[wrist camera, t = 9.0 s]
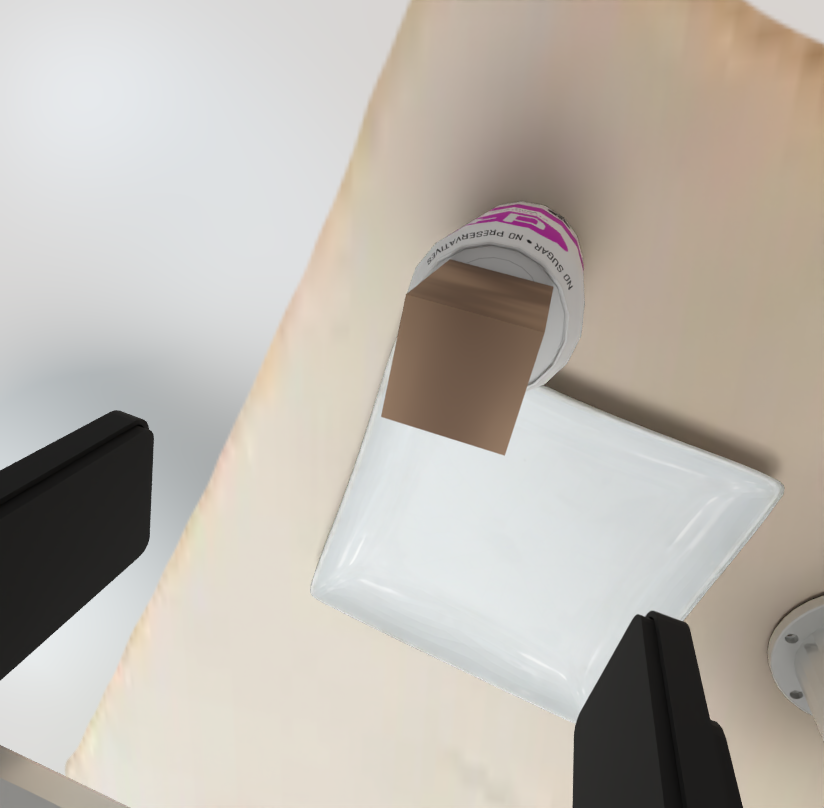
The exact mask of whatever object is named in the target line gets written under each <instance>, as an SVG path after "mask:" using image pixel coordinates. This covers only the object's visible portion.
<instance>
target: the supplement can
mask: <svg viewBox="0 0 824 808" xmlns="http://www.w3.org/2000/svg"><path fill="white" fill-rule="evenodd" d="M449 259H451V260H455V261H459V262H463V263H466V264H470V265H474V266H478V267H481V268H485V269H489V270H493V271H496V272H500V273H504V274H508V275H511V276H515V277H519V278H523V279H527V280H530V281H534V282H538V283H542V284H545V285H549V286H553V292H552V297H551V303H550V308H549V313H548V318H547V323H546V328H545V333H544V336H543V339H542V343H541V346H540V349H539V352H538V355H537V358H536V361H535V364H534V367H533V370H532V373H531V376H530V380H529V383H528V386H527V389H526V392H527V391H530V390H532V389H534V388H537V387H539V386H541V385H544V384H545V383H546V382H548V381H549V380H550V379H551V378H552V377H553V376H554V375H555V374H556V373H557V372H558V371H559V370H561V369H562V368H563V367H564V366H565V365H566V364H567V363H568V361H569V359H570V357H571V355H572V353H573V351H574V349H575V347H576V345H577V343H578V341H579V339H580V337H581V333H582V324H583V314H584V305H585V301H584V269H583V256H582V252H581V248H580V244H579V241H578V237H577V235H576V234H575V232H574V231H573V230H572V228H571V227H570V225H569V224H568V223H567V221H566V220H565V219H564V217H562V216H560V215H559V214H557V213H556V212H554V211H552V210H551V209H549V208H548V207H546V206H545V205H540V204H535V203H529V202H524V201H519V202H513V203H508V204H502V205H498V206H497V207H495V208H493V209H491V210H490V211H488V212H486V213H485V214H483V215H481V216H479V217H478V218H476V219H474V220H473V221H471V222H470V223H468V224H466V225H465V226H463V227H461V228H460V229H458V230H457V231H455V232H453V233H452V234H450V235H448V236H447V237H445V238H443V239H442V240H440V241H439V242H437V243H435V245H434V246H433V247H432V248H431V250H430V251H429V252H428V253H427V254H426V256H425V257H424V258H423V259H422V261H421V262H420V263H419V264H418V265H417V267H416V269H415V272H414V274H413V277H412V280H411V283H410V286H409V289H408V292H409V291H411V290H412V289H413V288H414V287H416V286H417V285H418V284H419V283H421V282H422V281H423V280H424V279H426V278H427V277H428V276H429V275H431V274H432V273H433V272H434V271H436V270H437V269H438V268H439V267H441V266H442V265H443V264H444V263H446V262H447V261H448V260H449ZM408 292H407V293H408Z"/></svg>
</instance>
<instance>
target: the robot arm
mask: <svg viewBox="0 0 824 808" xmlns="http://www.w3.org/2000/svg"><path fill="white" fill-rule="evenodd" d="M153 444H154V436H153V433H152V431H150V430H149V428H148V424H147V422H146V421H145V420H143V419H140V418H138V417H135V416H132V415H130V414H127V413H124V412H122V411H117V410H116V411H112V412H109V413H108V414H106V415H104V416H102V417H100V418H98V419H96V420H94V421H93V422H91V423H89V424H87V425H85V426H83V427H81V428H80V429H78V430H76V431H74V432H72V433H70V434H68V435H66V436H64V437H63V438H61V439H59V440H57V441H55V442H53V443H51V444H49V445H47V446H46V447H44V448H42V449H40V450H38V451H36V452H34V453H32V454H30V455H29V456H27V457H25V458H23V459H21V460H19V461H18V462H15V463H14V464H12V465H10V466H8V467H6V468H4V469H2V470H0V680H1V679H3V678H4V677H5V676H6V675H7V674H8V673H9V672H10V671H11V670H12V669H14V668H15V667H16V666H17V665H18V664H19V663H21V662H22V661H23V660H24V659H25V658H26V657H27V656H28V655H29V654H31V653H32V652H33V651H34V650H35V649H36V648H37V647H38V646H40V645H41V644H42V643H43V642H44V641H45V640H46V639H47V638H49V637H50V636H51V635H52V634H53V633H54V632H55V631H56V630H58V629H59V628H60V627H61V626H62V625H63V624H64V623H65V622H67V621H68V620H69V619H70V618H71V617H72V616H73V615H74V614H75V613H76V612H78V611H79V610H80V609H81V608H82V607H83V606H84V605H86V604H87V603H88V602H89V601H90V600H91V599H92V598H93V597H95V596H96V595H97V594H98V593H99V592H100V591H101V590H102V589H104V588H105V587H106V586H107V585H108V584H109V583H110V582H111V581H113V580H114V579H115V578H116V577H117V576H118V575H119V574H120V573H121V572H123V571H124V570H125V569H126V568H127V567H128V566H129V565H130V564H132V563H133V562H134V561H135V560H136V559H137V558H138V557H139V556H140V555H141V554H142V553H143V552H144V550H145V549H146V546H147V545H148V542H149V537H150V514H151V512H150V511H151V490H152V467H153ZM767 654H768V664H769V667H770V670H771V673H772V676H773V679H774V680H775V682H776V684H777V686H778V688H779V690H780V691H781V692H782V693H783V695H784V696H785V697H786V698H787V699H788V700H789V701H790V702H792V703H793V704H794V705H795V706H797V707H798V708H799V709H801V710H802V711H804V712H806V713H808V714H810V715H812V716H813V717H814V720H815V722H816V725H817V727H818V729H819V732H820V734H821V737H822V739H823V741H824V595H823V596H821V597H818V598H815V599H812V600H810V601H808V602H806V603H805V604H803V605H801V606H799V607H797V608H796V609H794V610H793V611H792V612H791V613H789V614H788V615H787V616H786V617H784V619H783V620H782V621H781V622H780V623H779V625H778V626H777V627H776V628H775V630H774V632H773V634H772V636H771V638H770V640H769V646H768V651H767ZM0 808H130V807H128V806H126V805H124V804H121V803H119V802H117V801H115V800H113V799H111V798H109V797H107V796H105V795H103V794H101V793H99V792H97V791H95V790H93V789H91V788H89V787H86V786H84V785H82V784H80V783H78V782H76V781H74V780H72V779H70V778H68V777H66V776H64V775H62V774H60V773H57V772H55V771H53V770H51V769H49V768H47V767H45V766H43V765H41V764H39V763H37V762H34V761H32V760H30V759H28V758H26V757H24V756H22V755H20V754H18V753H16V752H14V751H12V750H9V749H7V748H5V747H3V746H1V745H0ZM573 808H743V806H742V802H741V798H740V794H739V790H738V785H737V781H736V777H735V773H734V769H733V765H732V761H731V757H730V753H729V749H728V745H727V740H726V737H725V735H724V732H723V729H722V728H721V726H720V725H719V724H718V723H717V722H715V721H712V720H710V717H709V712H708V708H707V704H706V699H705V695H704V690H703V686H702V681H701V677H700V672H699V668H698V663H697V659H696V655H695V650H694V646H693V641H692V637H691V632H690V629H689V626H688V624H687V623H685V622H683V621H680V620H678V619H675V618H672V617H670V616H667V615H664V614H662V613H659V612H656V611H650V612H648V613H647V615H646V616H642V615H639V614H637V615H635V616H634V618H633V619H632V621H631V623H630V624H629V626H628V628H627V630H626V631H625V633H624V635H623V637H622V639H621V640H620V642H619V644H618V646H617V647H616V649H615V651H614V653H613V655H612V656H611V658H610V660H609V662H608V663H607V665H606V667H605V669H604V670H603V672H602V674H601V676H600V678H599V679H598V681H597V683H596V685H595V686H594V688H593V690H592V692H591V694H590V695H589V697H588V699H587V701H586V702H585V704H584V706H583V708H582V710H581V711H580V713H579V715H578V718H577V721H576V725H575V731H574V764H573Z"/></svg>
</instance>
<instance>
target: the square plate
mask: <svg viewBox="0 0 824 808" xmlns="http://www.w3.org/2000/svg"><path fill="white" fill-rule="evenodd" d="M396 341H397V338H396ZM396 341H395V343H394V346H393V348H392V351H391V354H390V356H389V360H388V362H387V365H386V368H385V372H384V375H383V378H382V382H381V385H380V388H379V391H378V394H377V398H376V401H375V404H374V407H373V410H372V414H371V417H370V420H369V423H368V426H367V429H366V432H365V435H364V439H363V441H362V445H361V448H360V451H359V454H358V457H357V460H356V463H355V466H354V469H353V472H352V474H351V477H350V480H349V483H348V485H347V488H346V491H345V494H344V497H343V499H342V502H341V505H340V507H339V510H338V513H337V515H336V518H335V520H334V523H333V526H332V528H331V531H330V534H329V536H328V538H327V541H326V544H325V546H324V549H323V552H322V554H321V557H320V560H319V562H318V565H317V567H316V570H315V573H314V576H313V579H312V583H311V589H310V592H311V594H312V596H313V597H314V598H316V599H317V600H319V601H321V602H322V603H324V604H326V605H328V606H330V607H332V608H334V609H336V610H338V611H340V612H342V613H344V614H346V615H348V616H350V617H352V618H354V619H356V620H358V621H360V622H362V623H364V624H366V625H368V626H370V627H372V628H374V629H376V630H379V631H381V632H383V633H385V634H387V635H389V636H391V637H393V638H395V639H397V640H399V641H401V642H403V643H405V644H407V645H409V646H411V647H413V648H416V649H418V650H420V651H422V652H424V653H426V654H428V655H430V656H432V657H434V658H436V659H438V660H441V661H443V662H445V663H447V664H449V665H451V666H453V667H455V668H457V669H459V670H461V671H463V672H466V673H468V674H470V675H472V676H474V677H476V678H478V679H480V680H482V681H485V682H487V683H489V684H491V685H493V686H495V687H497V688H499V689H501V690H503V691H505V692H507V693H509V694H512V695H514V696H516V697H518V698H521V699H523V700H525V701H527V702H529V703H531V704H533V705H535V706H537V707H539V708H541V709H544V710H546V711H548V712H550V713H552V714H554V715H557V716H559V717H561V718H563V719H565V720H568V721H570V722H572V723H575V724H576V721H577V718H578V715H579V713H580V711H581V710H582V708H583V706H584V704H585V702H586V701H587V699H588V697H589V695H590V694H591V692H592V690H593V688H594V686H595V685H596V683H597V681H598V679H599V678H600V676H601V674H602V672H603V670H604V669H605V667H606V665H607V663H608V662H609V660H610V658H611V656H612V655H613V653H614V651H615V649H616V647H617V646H618V644H619V642H620V640H621V639H622V637H623V635H624V633H625V631H626V630H627V628H628V626H629V624H630V623H631V621H632V619H633V618H634V616H635V615H637V614H639V615H642V616H646V615H647V613H648V612H650V611H656V612H659V613H662V614H664V615H667V616H670V617H672V618H675V619H678V620H680V621H684V619H685V618H686V617H687V615H688V614H689V613H690V612H691V610H692V609H693V608H694V607H695V606H696V604H697V603H698V602H699V601H700V599H701V598H702V597H703V596H704V594H705V593H706V592H707V591H708V589H709V588H710V587H711V586H712V584H713V583H714V582H715V581H716V579H717V578H718V577H719V576H720V575H721V574H722V572H723V571H724V570H725V569H726V568H727V566H728V565H729V564H730V563H731V562H732V560H733V559H734V558H735V557H736V555H737V554H738V553H739V552H740V550H741V549H742V548H743V547H744V545H745V544H746V543H747V542H748V541H749V539H750V538H751V537H752V536H753V534H754V533H755V532H756V530H757V529H758V528H759V527H760V525H761V524H762V523H763V521H764V520H765V519H766V518H767V516H768V515H769V514H770V512H771V511H772V509H773V508H774V507H775V505H776V504H777V502H778V501H779V500H780V498H781V497H782V495H783V494H784V485H783V484H782V483H781V482H780V481H778V480H776V479H774V478H772V477H770V476H768V475H766V474H764V473H762V472H759V471H757V470H755V469H752V468H750V467H748V466H745V465H743V464H740V463H737V462H735V461H732V460H730V459H727V458H725V457H722V456H719V455H716V454H714V453H711V452H708V451H706V450H703V449H700V448H698V447H695V446H692V445H690V444H687V443H684V442H682V441H679V440H676V439H674V438H671V437H668V436H666V435H663V434H660V433H658V432H655V431H653V430H650V429H648V428H645V427H642V426H640V425H637V424H635V423H632V422H630V421H627V420H624V419H622V418H619V417H617V416H615V415H612V414H610V413H607V412H605V411H602V410H600V409H597V408H595V407H593V406H590V405H588V404H585V403H583V402H581V401H579V400H576V399H574V398H572V397H569V396H567V395H565V394H562V393H560V392H558V391H556V390H554V389H551V388H549V387H547V386H545V385H541V386H539V387H537V388H534V389H532V390H530V391H527V392H525V395H524V398H523V401H522V404H521V407H520V410H519V413H518V417H517V420H516V423H515V426H514V429H513V432H512V435H511V438H510V441H509V444H508V447H507V450H506V454H505V456H504V455H501V454H498V453H494V452H491V451H488V450H485V449H482V448H478V447H475V446H472V445H469V444H466V443H463V442H459V441H456V440H453V439H450V438H447V437H443V436H440V435H437V434H434V433H431V432H428V431H424V430H421V429H418V428H415V427H412V426H408V425H405V424H402V423H399V422H396V421H392V420H389V419H386V418H383V417H381V414H382V409H383V404H384V400H385V395H386V390H387V385H388V380H389V375H390V370H391V365H392V361H393V356H394V351H395V346H396Z"/></svg>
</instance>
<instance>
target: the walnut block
mask: <svg viewBox="0 0 824 808" xmlns="http://www.w3.org/2000/svg"><path fill="white" fill-rule="evenodd" d="M552 292H553V286H549V285H545V284H542V283H538V282H534V281H530V280H527V279H523V278H519V277H515V276H511V275H508V274H504V273H500V272H496V271H493V270H489V269H485V268H481V267H478V266H474V265H470V264H466V263H463V262H459V261H455V260H451V259H449V260H448V261H447V262H446V263H444V264H443V265H442V266H441V267H439V268H438V269H437V270H436V271H434V272H433V273H432V274H431V275H429V276H428V277H427V278H426V279H424V280H423V281H422V282H421V283H419V284H418V285H417V286H416V287H414V288H413V289H412V290H411V291H409V292H408V293H407V294H406V297H405V302H404V307H403V312H402V317H401V322H400V327H399V331H398V336H397V341H396V346H395V351H394V356H393V361H392V365H391V370H390V375H389V380H388V385H387V390H386V395H385V400H384V404H383V409H382V414H381V417H383V418H386V419H389V420H392V421H396V422H399V423H402V424H405V425H408V426H412V427H415V428H418V429H421V430H424V431H428V432H431V433H434V434H437V435H440V436H443V437H447V438H450V439H453V440H456V441H459V442H463V443H466V444H469V445H472V446H475V447H478V448H482V449H485V450H488V451H491V452H494V453H498V454H501V455H504V456H505V454H506V450H507V447H508V444H509V441H510V438H511V435H512V432H513V429H514V426H515V423H516V420H517V417H518V413H519V410H520V407H521V404H522V401H523V398H524V395H525V392H526V389H527V386H528V383H529V380H530V376H531V373H532V370H533V367H534V364H535V361H536V358H537V355H538V352H539V349H540V346H541V343H542V339H543V336H544V333H545V328H546V323H547V318H548V313H549V308H550V303H551V297H552Z"/></svg>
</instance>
